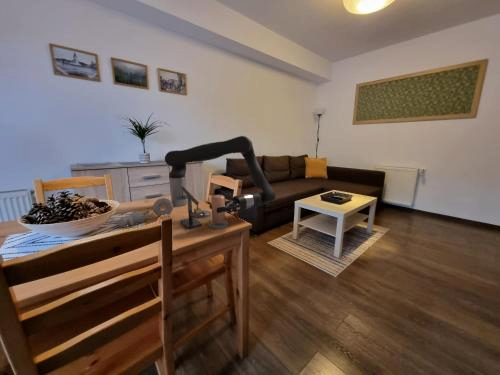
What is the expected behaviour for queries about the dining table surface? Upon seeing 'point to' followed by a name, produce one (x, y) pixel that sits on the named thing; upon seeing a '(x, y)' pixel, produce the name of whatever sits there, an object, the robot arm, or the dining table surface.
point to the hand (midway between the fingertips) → (213, 208)
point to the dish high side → (205, 214)
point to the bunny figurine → (133, 218)
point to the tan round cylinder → (216, 203)
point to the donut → (160, 202)
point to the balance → (197, 212)
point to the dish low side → (218, 225)
